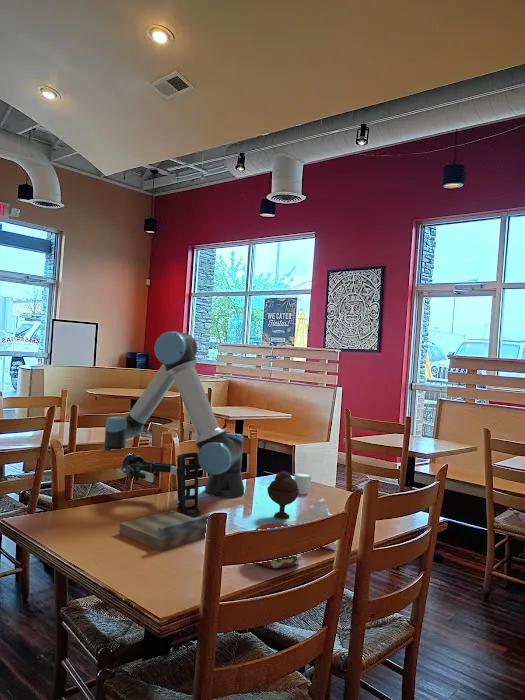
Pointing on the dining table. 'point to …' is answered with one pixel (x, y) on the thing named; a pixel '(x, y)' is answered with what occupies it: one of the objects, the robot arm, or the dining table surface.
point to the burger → (284, 561)
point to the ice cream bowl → (283, 492)
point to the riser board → (165, 529)
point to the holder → (181, 485)
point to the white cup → (303, 482)
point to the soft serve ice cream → (314, 517)
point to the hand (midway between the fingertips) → (168, 475)
